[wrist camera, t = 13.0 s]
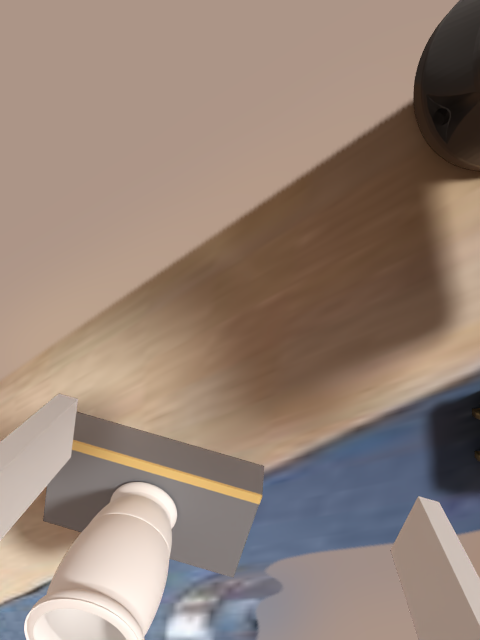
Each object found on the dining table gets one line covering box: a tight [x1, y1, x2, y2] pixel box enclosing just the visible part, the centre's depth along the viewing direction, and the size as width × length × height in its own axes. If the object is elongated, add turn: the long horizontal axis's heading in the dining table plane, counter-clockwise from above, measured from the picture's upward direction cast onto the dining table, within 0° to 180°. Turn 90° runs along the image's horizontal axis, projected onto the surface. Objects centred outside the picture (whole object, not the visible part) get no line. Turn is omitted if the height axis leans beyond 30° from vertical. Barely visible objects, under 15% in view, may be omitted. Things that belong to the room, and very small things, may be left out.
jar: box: [24, 482, 177, 640], centre depth 38 cm, size 11×10×15 cm
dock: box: [43, 412, 264, 577], centre depth 47 cm, size 26×14×5 cm, turn 75°
